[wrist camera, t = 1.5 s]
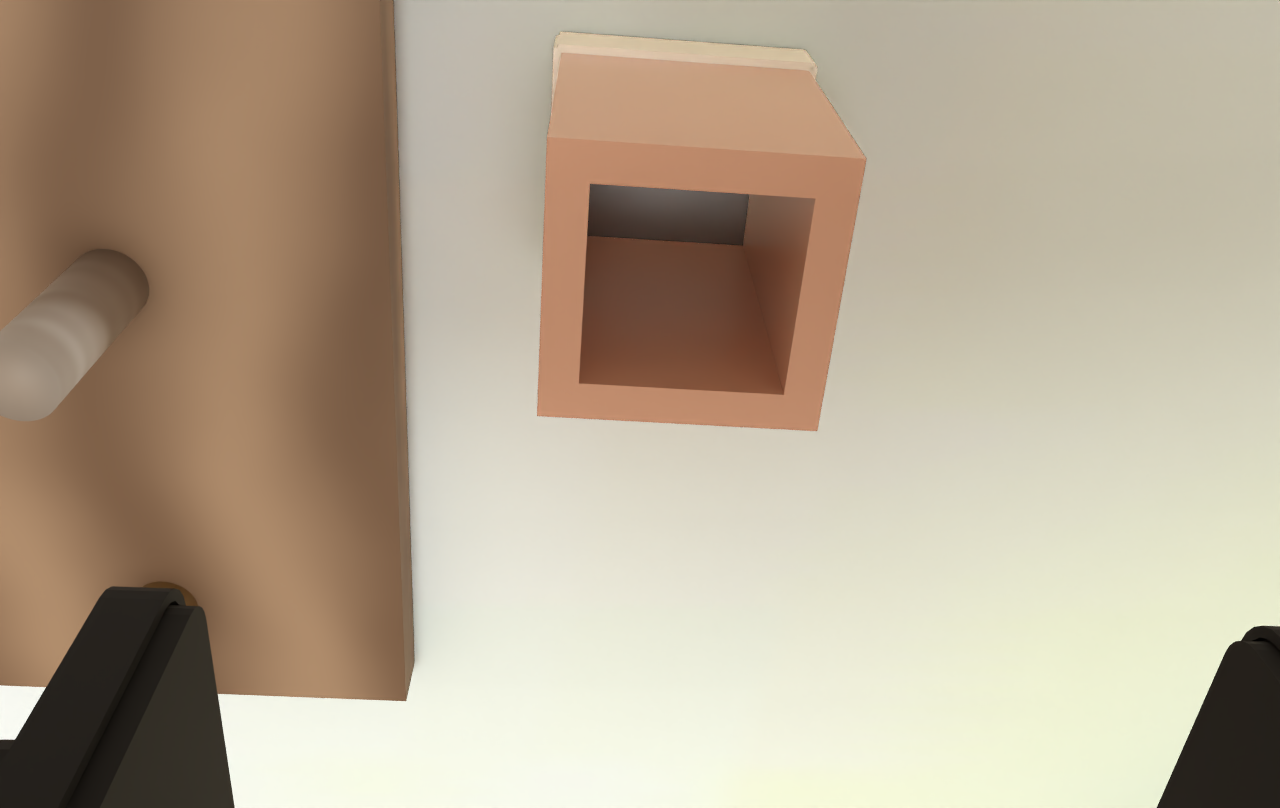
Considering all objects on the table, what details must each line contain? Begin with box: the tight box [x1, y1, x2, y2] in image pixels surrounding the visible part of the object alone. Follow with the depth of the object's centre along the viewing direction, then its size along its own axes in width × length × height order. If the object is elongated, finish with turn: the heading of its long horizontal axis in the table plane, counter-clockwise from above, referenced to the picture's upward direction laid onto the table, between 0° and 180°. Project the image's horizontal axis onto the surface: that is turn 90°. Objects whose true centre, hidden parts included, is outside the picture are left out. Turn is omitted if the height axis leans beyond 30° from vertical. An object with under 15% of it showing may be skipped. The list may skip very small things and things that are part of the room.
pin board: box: [0, 0, 414, 701], centre depth 23 cm, size 12×24×6 cm, turn 176°
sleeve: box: [537, 32, 866, 431], centre depth 22 cm, size 5×5×7 cm
